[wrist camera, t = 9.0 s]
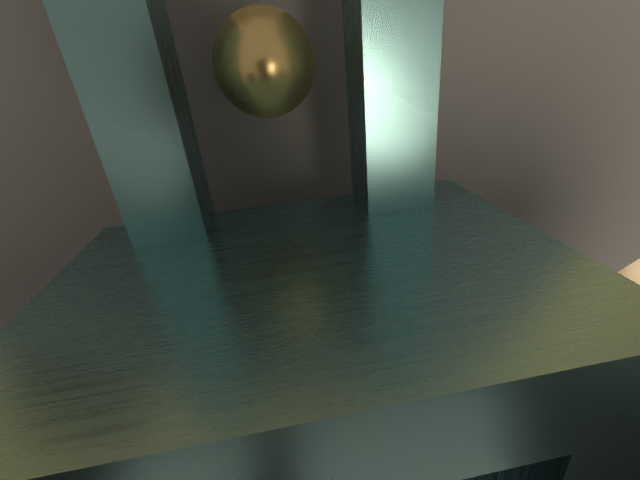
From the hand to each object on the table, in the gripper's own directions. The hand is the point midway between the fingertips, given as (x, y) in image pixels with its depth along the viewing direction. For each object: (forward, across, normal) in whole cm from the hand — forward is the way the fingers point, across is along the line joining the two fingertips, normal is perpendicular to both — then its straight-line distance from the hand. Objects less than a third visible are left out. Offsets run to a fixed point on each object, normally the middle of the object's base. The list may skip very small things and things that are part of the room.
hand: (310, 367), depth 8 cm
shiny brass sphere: (+2, 0, -6) cm, 7 cm away
